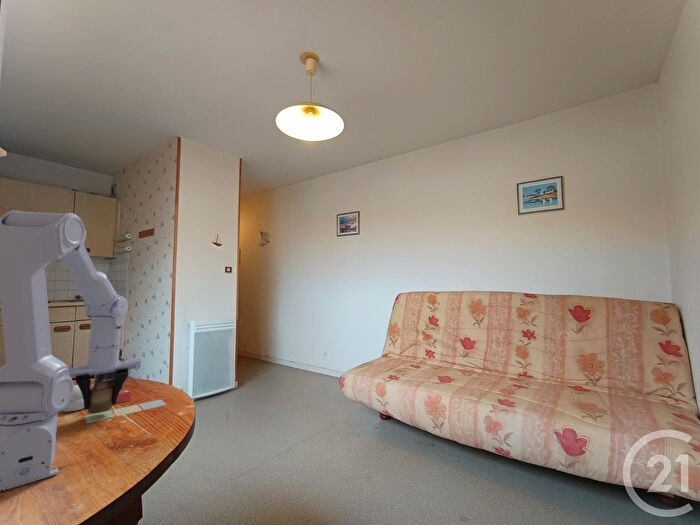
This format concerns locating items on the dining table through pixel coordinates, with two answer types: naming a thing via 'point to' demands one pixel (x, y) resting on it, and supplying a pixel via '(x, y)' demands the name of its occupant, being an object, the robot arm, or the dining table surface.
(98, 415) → the game board
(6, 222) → the robot arm
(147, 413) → the dining table surface
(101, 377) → the supplement bottle
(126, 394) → the red die
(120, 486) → the dining table surface
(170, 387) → the dining table surface
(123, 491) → the dining table surface
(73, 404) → the dome
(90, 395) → the pawn
